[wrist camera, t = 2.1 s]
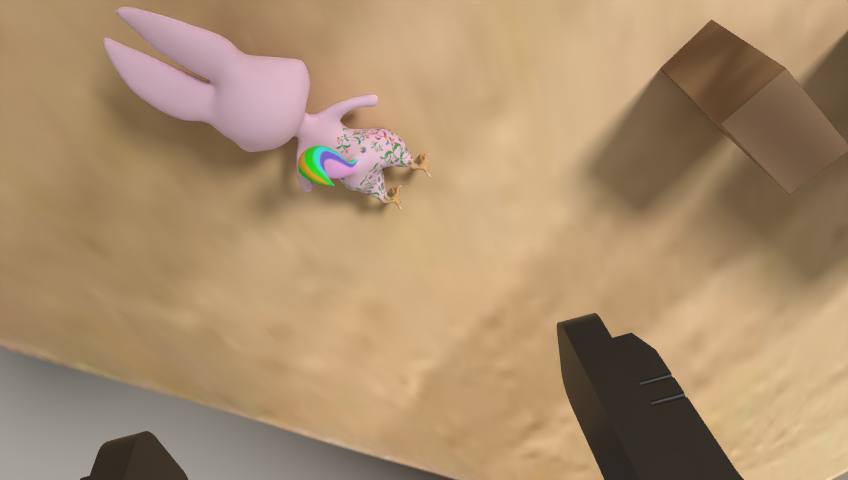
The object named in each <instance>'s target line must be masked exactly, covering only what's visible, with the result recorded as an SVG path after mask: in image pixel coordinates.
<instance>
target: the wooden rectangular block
mask: <svg viewBox="0 0 848 480" xmlns="http://www.w3.org/2000/svg"><path fill="white" fill-rule="evenodd" d="M660 69H661V70H662V71H663V72H664V73H665V74H666V75H667V76H668V77H669V78H670V79H671V80H672V81H673V82H674V83H675V84H676V85H677V86H678V87H679V88H680V89H681V90H682V91H683V92H684V93H685V94H686V95H687V96H688V97H689V98H690V99H691V100H692V101H693V102H694V103H695V104H696V105H697V106H698V107H699V108H700V109H701V110H702V111H703V112H704V113H705V115H706V116H707V117H708V118H709V119H710V120H711V121H712V122H713V123H714V124H715V125H716V126H717V127H718V128H719V129H720V130H721V131H722V132H723V133H724V134H725V135H726V136H727V137H729V138H730V139H731V140H732V141H733V142H734V143H735V144H736V145H737V146H738V147H739V148H740V149H741V150H742V151H744V152H745V153H746V154H747V155H748V156H749V157H750V158H751V159H752V160H753V161H754V162H755V163H756V164H757V165H759V166H760V167H761V168H762V169H763V170H764V171H765V172H766V173H767V174H768V175H769V176H770V177H771V178H772V179H774V180H775V181H776V182H777V183H778V184H779V185H780V186H781V187H782V188H783V189H784V190H785V191H786V192H787V193H789V194H791V193H792V192H794V191H795V190H796V189H798V188H799V187H800V186H802V185H803V184H804V183H806V182H807V181H808V180H810V179H811V178H812V177H814V176H815V175H816V174H818V173H819V172H820V171H822V170H823V169H824V168H826V167H827V166H828V165H830V164H831V163H832V162H834V161H835V160H836V159H838V158H839V157H840V156H842V155H843V154H844V153H846V152H847V151H848V144H847V142H846V141H845V140H844V139H843V138H842V136H841V135H840V134H839V133H838V131H837V130H836V129H835V128H834V126H833V125H832V124H831V123H830V122H829V120H828V119H827V118H826V117H825V115H824V114H823V113H822V112H821V110H820V109H819V108H818V107H817V106H816V104H815V103H814V102H813V101H812V99H811V98H810V97H809V96H808V94H807V93H806V92H805V91H804V90H803V88H802V87H801V86H800V85H799V83H798V82H797V81H796V80H795V79H794V77H793V76H792V75H791V74H790V72H789V71H788V70H787V69H786V68H785V67H783V66H782V65H780V64H779V63H777V62H776V61H774V60H773V59H771V58H770V57H768V56H766V55H765V54H763V53H762V52H760V51H759V50H757V49H756V48H754V47H753V46H751V45H750V44H748V43H747V42H745V41H744V40H742V39H740V38H739V37H737V36H736V35H734V34H733V33H731V32H730V31H728V30H727V29H725V28H724V27H722V26H721V25H719V24H717V23H716V22H714V21H713V20H711V21H710V22H709V23H707V24H706V25H705V26H704V27H703V28H702V29H701V30H700V31H699V32H698V33H697V34H696V35H695V36H694V37H693V38H692V39H691V40H690V41H689V42H688V43H686V44H685V45H684V46H683V47H682V48H681V49H680V50H679V51H678V52H677V53H676V54H675V55H674V56H673V57H672V58H671V59H670V60H669V61H668V62H667V63H665V64H664V65H663V66H662V67H661V68H660Z"/></svg>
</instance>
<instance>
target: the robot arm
mask: <svg viewBox="0 0 848 480" xmlns="http://www.w3.org/2000/svg"><path fill="white" fill-rule="evenodd" d="M557 335H558V344H559V353H560V363H561V372H562V378H563V383H564V386H565V390H566V393H567V396H568V399H569V401H570V404H571V406H572V409H573V411H574V413H575V415H576V417H577V420H578V422H579V424H580V426H581V429H582V431H583V433H584V435H585V437H586V440H587V442H588V444H589V446H590V448H591V451H592V453H593V455H594V457H595V460H596V462H597V464H598V466H599V468H600V471H601V473H602V475H603V477H604V480H744V479H743V478H742V477H741V476H740V475H739V473H738V472H737V471H736V469H735V468H734V466H733V465H732V463H731V462H730V460H729V459H728V457H727V456H726V454H725V453H724V451H723V450H722V448H721V447H720V445H719V444H718V442H717V441H716V439H715V438H714V436H713V435H712V433H711V432H710V430H709V429H708V427H707V426H706V424H705V423H704V421H703V420H702V418H701V417H700V415H699V414H698V412H697V411H696V409H695V408H694V406H693V405H692V403H691V402H690V400H689V399H688V397H685V395H684V391H683V390H682V388H681V387H680V385H679V384H678V382H677V381H676V379H675V378H673V377H672V375H671V372H670V370H669V369H668V367H667V366H666V365H665V363H664V362H663V360H662V359H661V357H660V356H659V354H658V353H657V351H656V350H655V349H654V348H652V347H651V346H650V345H648V344H647V343H645V342H644V341H643V340H641V339H640V338H638V337H637V336H635V335H634V334H633V333H629V334H625V335H621V336H618V337H614V338H612V337H611V335H610V333H609V332H608V330H607V328H606V327H605V325H604V323H603V322H602V320H601V319H600V317H599V316H598V315H597V314H596V313H593V314H589V315H585V316H581V317H578V318H574V319H570V320H566V321H563V322H559V323H557ZM80 480H188V478H187V476H186V474H185V473H184V471H183V470H182V469H181V468H180V466H179V465H178V464H177V463H176V462H175V460H174V459H173V458H172V457H171V455H170V454H169V453H168V452H167V451H166V449H165V448H164V447H163V446H162V445H161V443H160V442H159V441H158V439H157V438H156V437H155V436H154V435H153V434H152V433H150V432H148V431H145V432H141V433H138V434H134V435H130V436H126V437H123V438H119V439H115V440H111V441H108V442H106V443H104V444H103V445H102V446H101V448H100V450H99V452H98V454H97V457H96V460H95V463H94V465H93V468H92V471H91V474H90V476H87V477H83V478H81V479H80Z"/></svg>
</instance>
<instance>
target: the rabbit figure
mask: <svg viewBox="0 0 848 480" xmlns="http://www.w3.org/2000/svg"><path fill="white" fill-rule="evenodd" d="M117 14H118V16H119V17H120V18H121V19H123V20H124V21H125V22H126V23H127V24H128V25H129V26H131V27H132V28H133V29H134V30H135V31H136V32H137V33H138V34H139V35H140V36H141V37H142V38H143V39H144V40H145V41H147V42H148V43H149V44H150V45H151V46H152V47H154V48H155V49H156V50H158V51H159V52H160V53H162V54H164V55H165V56H167V57H169V58H170V59H172V60H174V61H176V62H177V63H179V64H181V65H182V66H184V67H185V68H187V69H188V70H190V71H192V72H193V73H195V74H197V75H199V76H202V77H204V78H206V79H208V80H210V82H205V81H202V80H199V79H197V78H195V77H193V76H191V75H189V74H187V73H185V72H183V71H181V70H179V69H177V68H175V67H173V66H170V65H168V64H166V63H164V62H161V61H159V60H157V59H155V58H153V57H151V56H148V55H146V54H144V53H142V52H140V51H137V50H135V49H132V48H130V47H127V46H125V45H122V44H120V43H118V42H116V41H114V40H112V39H109V38H105V39H104V40H103V46H104V49H105V51H106V53H107V55H108V57H109V59H110V61H111V62H112V64H113V66H114V67H115V69H116V70H117V72H118V73H119V75H120V76H121V78H122V79H123V80H124V82H125V83H126V84H127V85H128V86H129V88H130V89H131V90H132V91H133V92H134V93H135V94H136V95H138V96H139V97H140V98H141V99H143V100H144V101H146V102H147V103H149V104H150V105H152V106H153V107H155V108H157V109H158V110H160V111H162V112H164V113H166V114H168V115H170V116H172V117H175V118H178V119H181V120H186V121H203V122H207V123H209V124H210V125H212V126H213V127H214V128H215V129H216V130H218V131H219V132H220V133H221V134H223V135H224V136H226V137H227V138H229V139H231V140H233V141H234V142H235V143H236V144H237V145H238V146H239V147H240V148H242V149H243V150H245V151H248V152H258V151H266V150H272V149H275V148H278V147H280V146H282V145H284V144H285V143H287V142H288V141H289V140H290V139H291V138H292V137H293V136H295V137H297V138H298V147H297V153H296V169H297V175H298V178H299V182H300V185H301V188H302V190H303V191H304V192H310V191H311V190H312V188H313V185H312V182H314V183H317V184H320V185H325V186H335V185H334V184H333V183H332V182H331V180H330V179H329V178H332V179H339V180H340V181H341V183H342V184H343V185H344V186H345V187H347V188H348V189H350V190H353V191H359V192H362V193H365V194H368V195H370V196H373V197H376V198H377V199H379V200H380V201H381V202H382V203H384V204H385V203H389V202H391V203H396V205H398V207H399V209H401V206H400V205H399V204H400V203H401V201H400V190H399V188H400V187H401V186H402V185H400V186H398V188H397V189H396V190H394V188H392V189H391V190H392V195H390V196H388V195H387V193H386V190H385V184H384V175H383V170H382V169H383V168H385V167H410V168H411V169H421V170H424V171H425V173H426V174H427V175H428V176H429V177H431V176H430V174H429V173H428V172H427V171H428V170H429V167H428V157H427V155H429V154H428V153H426V154H425V157H424V158H423V157H422V156H423V155H422V154H420V156H419V157H420V159H419V161H420V162H419V163H418V164H416V163H415V162H414V161H413V159H412V157H411V155H410V153H409V151H408V149H407V147H406V145H405V143H404V142H403V140H402V139H401V138H400V137H399V136H398V135H397V134H395V133H394V132H392V131H390V130H387V129H382V128H369V129H350V128H347V127H346V126H344V125H343V124H342V123H341V122H340V120H341V118H342V116H343V115H344V114H346V113H347V112H349V111H351V110H353V109H355V108H359V107H372V106H375V105H376V104H377V103H378V97H377V96H376V95H374V94H368V95H363V96H358V97H353V98H349V99H346V100H343V101H341V102H338V103H336V104H334V105H331V106H329V107H328V108H326V109H325V110H323V111H321V112H319V113H317V114H308V113H306V112H305V109H306V104H307V99H308V95H309V90H310V79H309V73H308V70H307V67H306V65H305V64H304V63H303V62H302V61H301V60H299V59H293V58H281V57H271V56H254V55H247V54H245V53H243V52H241V51H240V50H238V49H237V48H236V47H235V46H234V45H233V44H232V43H231V42H230V41H229V40H227V39H226V38H224V37H222V36H220V35H218V34H216V33H214V32H211V31H209V30H206V29H203V28H199V27H196V26H193V25H190V24H188V23H185V22H182V21H180V20H177V19H173V18H170V17H167V16H163V15H159V14H156V13H152V12H149V11H145V10H141V9H137V8H131V7H121V8H118V9H117ZM401 210H402V209H401Z"/></svg>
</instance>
